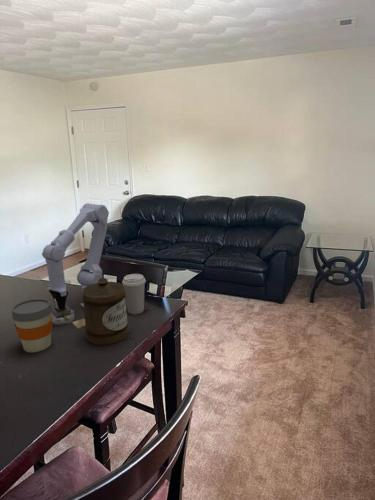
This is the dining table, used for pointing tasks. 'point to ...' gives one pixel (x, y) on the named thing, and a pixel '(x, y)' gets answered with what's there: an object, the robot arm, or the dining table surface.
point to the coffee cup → (134, 292)
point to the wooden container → (105, 312)
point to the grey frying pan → (63, 319)
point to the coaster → (79, 323)
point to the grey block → (57, 305)
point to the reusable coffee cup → (33, 324)
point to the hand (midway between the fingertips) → (60, 307)
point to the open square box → (61, 312)
